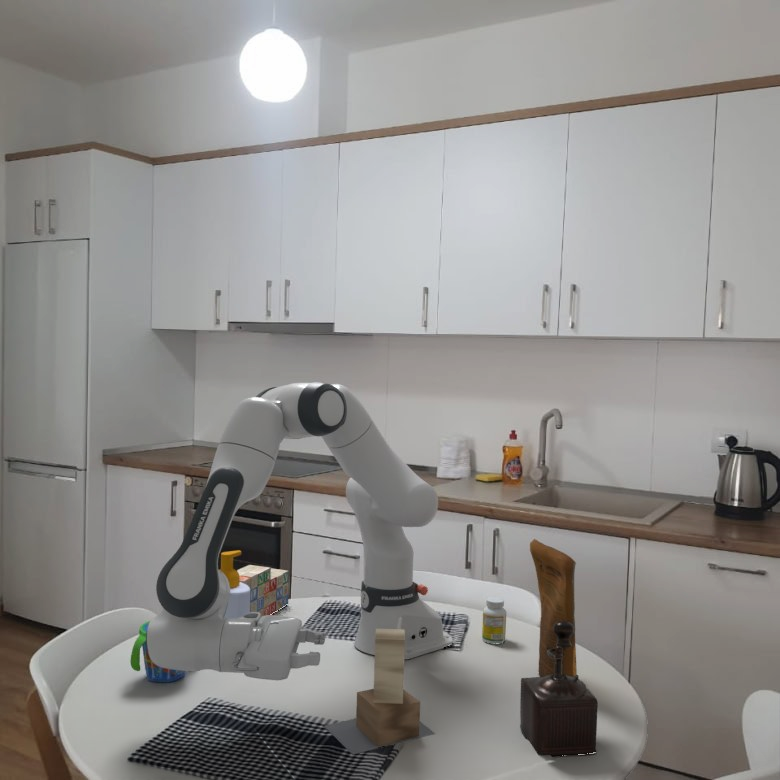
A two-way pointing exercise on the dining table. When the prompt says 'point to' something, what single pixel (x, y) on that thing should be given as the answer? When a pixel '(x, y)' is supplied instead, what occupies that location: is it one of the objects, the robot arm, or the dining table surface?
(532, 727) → the manual coffee grinder
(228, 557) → the soap bottle
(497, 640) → the supplement bottle
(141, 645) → the snack cup
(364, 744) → the mat
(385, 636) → the oak column
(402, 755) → the dining table surface
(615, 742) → the dining table surface
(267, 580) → the stack of blocks
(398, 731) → the walnut block
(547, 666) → the pancake mix bag
